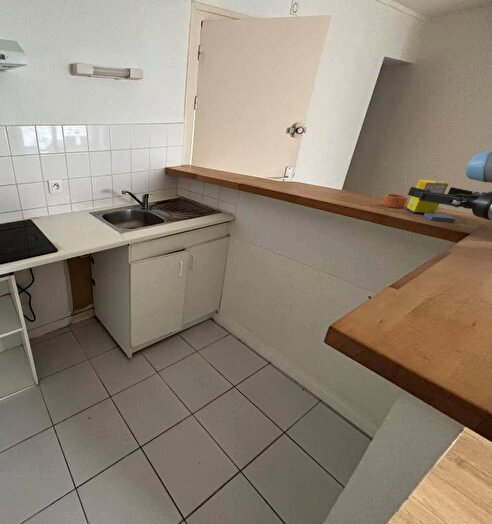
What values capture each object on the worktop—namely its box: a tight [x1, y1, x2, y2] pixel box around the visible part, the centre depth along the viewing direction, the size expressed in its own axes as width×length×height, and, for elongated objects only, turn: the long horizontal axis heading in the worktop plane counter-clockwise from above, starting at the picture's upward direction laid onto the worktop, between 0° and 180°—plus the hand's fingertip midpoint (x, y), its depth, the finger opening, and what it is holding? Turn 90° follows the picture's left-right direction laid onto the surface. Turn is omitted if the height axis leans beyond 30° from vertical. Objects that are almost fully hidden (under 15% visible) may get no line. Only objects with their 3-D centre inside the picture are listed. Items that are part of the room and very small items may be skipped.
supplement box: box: [405, 179, 450, 215], centre depth 97 cm, size 6×6×11 cm
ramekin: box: [381, 193, 409, 209], centre depth 106 cm, size 7×7×4 cm
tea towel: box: [423, 213, 457, 223], centre depth 93 cm, size 6×5×1 cm
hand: (429, 191), depth 96 cm, fingers open, 13 cm apart
